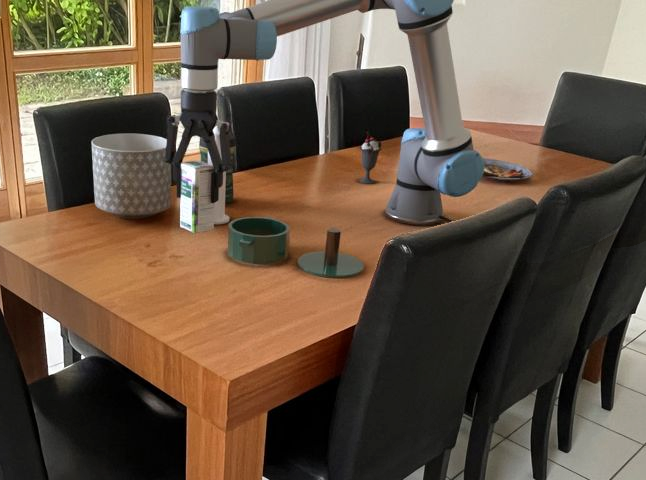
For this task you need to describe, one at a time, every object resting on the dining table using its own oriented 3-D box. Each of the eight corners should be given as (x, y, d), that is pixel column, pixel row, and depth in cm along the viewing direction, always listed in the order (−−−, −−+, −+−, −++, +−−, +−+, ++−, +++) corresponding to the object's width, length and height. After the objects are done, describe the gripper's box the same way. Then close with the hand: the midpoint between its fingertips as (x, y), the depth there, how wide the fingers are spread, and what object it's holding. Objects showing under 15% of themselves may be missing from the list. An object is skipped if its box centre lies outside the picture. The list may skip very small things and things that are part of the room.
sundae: (353, 182, 228) (359, 132, 220) (359, 177, 233) (365, 128, 226) (374, 185, 226) (380, 135, 218) (379, 180, 231) (386, 131, 224)
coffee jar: (213, 208, 198) (214, 136, 189) (192, 201, 203) (193, 130, 193) (238, 201, 204) (241, 132, 195) (218, 195, 209) (220, 126, 200)
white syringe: (219, 226, 185) (221, 122, 173) (196, 220, 188) (197, 117, 176) (234, 219, 191) (238, 118, 178) (212, 214, 194) (214, 113, 181)
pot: (298, 247, 175) (300, 219, 172) (272, 274, 159) (274, 244, 156) (243, 238, 179) (245, 210, 175) (213, 264, 163) (214, 234, 159)
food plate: (539, 187, 234) (542, 176, 233) (466, 183, 234) (468, 171, 232) (517, 167, 256) (519, 157, 254) (450, 163, 256) (451, 153, 254)
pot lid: (369, 262, 169) (374, 225, 164) (355, 285, 157) (360, 245, 152) (307, 252, 172) (310, 215, 168) (288, 273, 160) (291, 234, 156)
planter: (79, 214, 188) (74, 140, 179) (134, 199, 201) (132, 130, 192) (133, 232, 178) (130, 155, 169) (186, 215, 192) (187, 143, 183)
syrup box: (179, 227, 169) (178, 162, 162) (200, 222, 172) (200, 159, 165) (194, 234, 165) (194, 168, 158) (215, 229, 168) (216, 164, 161)
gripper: (251, 92, 154) (246, 201, 166) (162, 82, 160) (163, 188, 171) (238, 97, 148) (234, 210, 159) (146, 87, 154) (148, 196, 165)
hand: (197, 198), depth 165 cm, fingers closed on syrup box, 7 cm apart
